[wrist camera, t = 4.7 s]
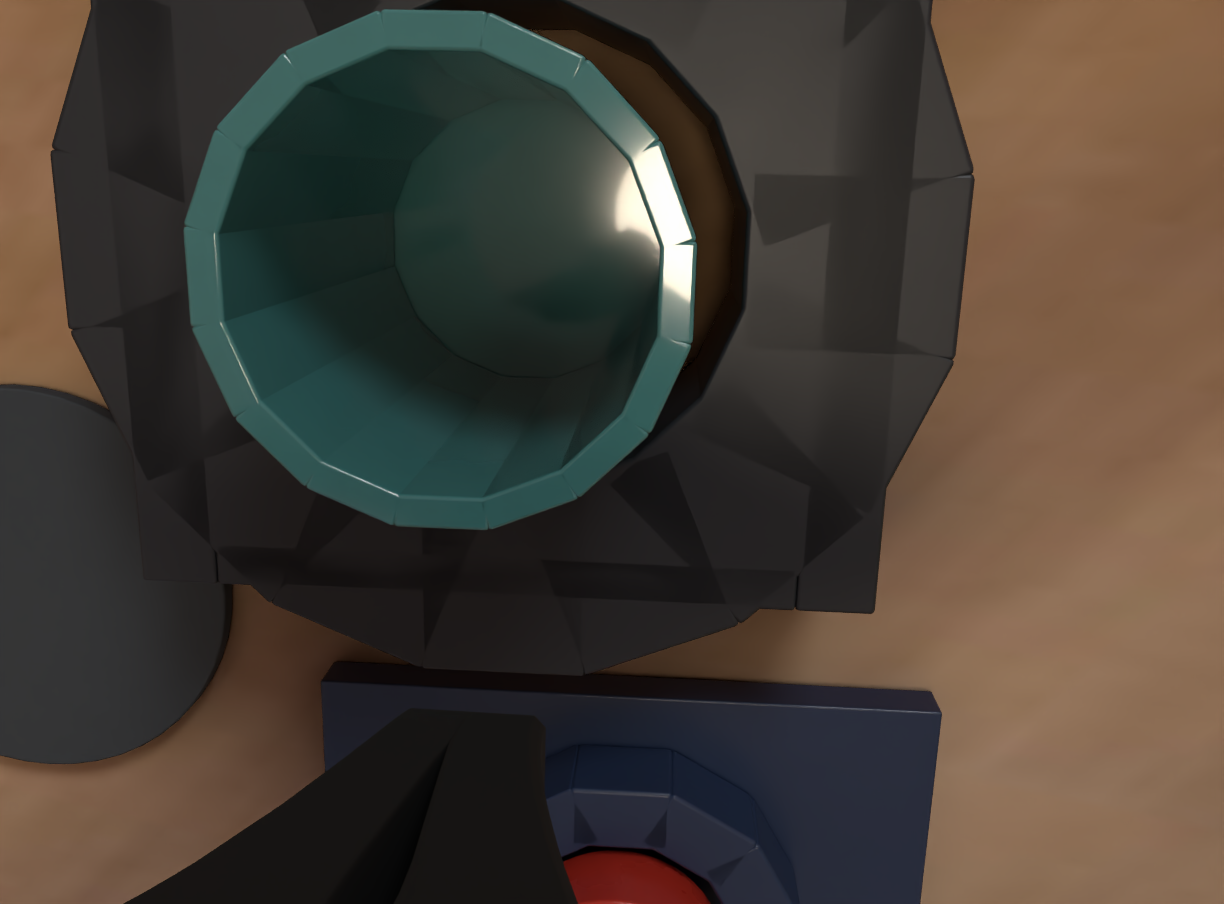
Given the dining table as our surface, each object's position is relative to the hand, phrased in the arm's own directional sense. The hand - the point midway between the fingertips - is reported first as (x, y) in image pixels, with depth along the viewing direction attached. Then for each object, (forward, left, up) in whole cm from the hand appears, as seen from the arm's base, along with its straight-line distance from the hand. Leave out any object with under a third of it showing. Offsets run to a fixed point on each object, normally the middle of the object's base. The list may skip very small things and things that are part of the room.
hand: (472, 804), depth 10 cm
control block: (+1, -8, -11) cm, 13 cm away
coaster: (-11, -2, -11) cm, 15 cm away
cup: (-1, +5, -11) cm, 12 cm away
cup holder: (-1, +5, -11) cm, 12 cm away
